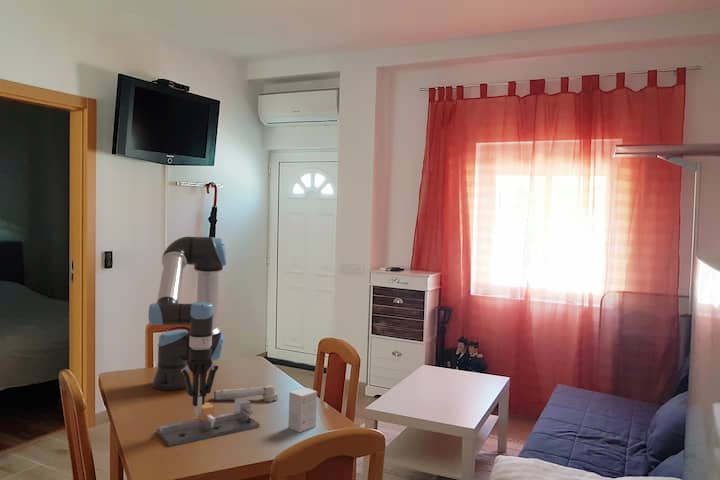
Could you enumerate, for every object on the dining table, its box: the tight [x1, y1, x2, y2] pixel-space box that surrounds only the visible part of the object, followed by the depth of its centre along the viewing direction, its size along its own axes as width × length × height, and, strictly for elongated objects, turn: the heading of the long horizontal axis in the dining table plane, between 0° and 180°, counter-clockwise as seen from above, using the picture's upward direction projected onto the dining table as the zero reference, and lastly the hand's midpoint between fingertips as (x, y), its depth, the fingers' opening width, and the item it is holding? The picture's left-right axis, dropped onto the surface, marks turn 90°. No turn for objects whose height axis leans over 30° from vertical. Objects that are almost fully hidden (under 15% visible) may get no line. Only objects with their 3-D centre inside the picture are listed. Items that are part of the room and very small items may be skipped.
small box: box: [287, 387, 318, 433], centre depth 199 cm, size 8×6×13 cm
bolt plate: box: [155, 397, 261, 447], centre depth 193 cm, size 13×32×7 cm, turn 127°
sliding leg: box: [196, 402, 215, 428], centre depth 194 cm, size 9×4×6 cm, turn 37°
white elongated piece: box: [213, 384, 279, 403], centre depth 225 cm, size 5×7×25 cm
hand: (198, 414), depth 194 cm, fingers closed
